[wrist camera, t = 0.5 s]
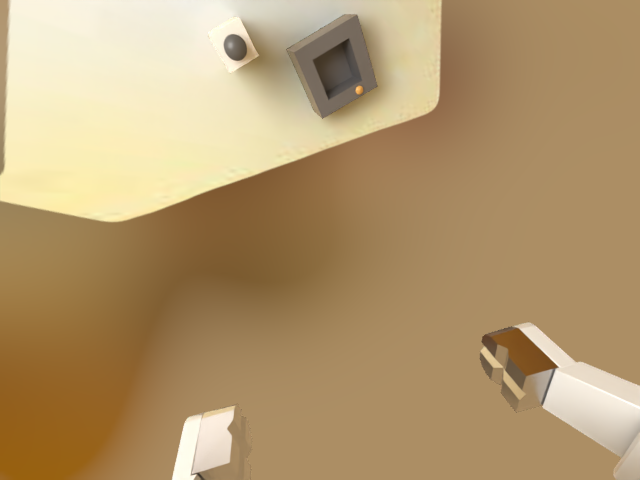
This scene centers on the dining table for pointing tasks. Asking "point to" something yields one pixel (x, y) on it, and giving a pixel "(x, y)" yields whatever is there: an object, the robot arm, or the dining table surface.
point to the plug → (233, 44)
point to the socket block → (334, 65)
